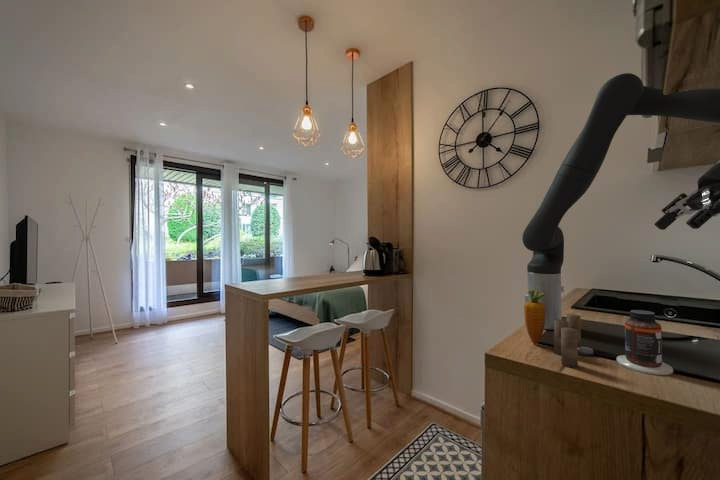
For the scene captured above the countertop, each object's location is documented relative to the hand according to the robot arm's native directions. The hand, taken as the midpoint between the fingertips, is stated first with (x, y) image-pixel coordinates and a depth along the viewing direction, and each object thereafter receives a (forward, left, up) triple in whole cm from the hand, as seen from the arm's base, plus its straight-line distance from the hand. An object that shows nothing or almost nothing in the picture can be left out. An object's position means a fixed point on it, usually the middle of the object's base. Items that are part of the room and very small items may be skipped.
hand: (673, 226), depth 66 cm
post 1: (-14, -17, -31) cm, 38 cm away
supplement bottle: (-2, -8, -30) cm, 31 cm away
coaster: (-2, -8, -31) cm, 32 cm away
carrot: (-21, -17, -31) cm, 41 cm away
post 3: (-9, -22, -31) cm, 39 cm away
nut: (-12, -12, -31) cm, 35 cm away
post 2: (-16, -9, -31) cm, 36 cm away
